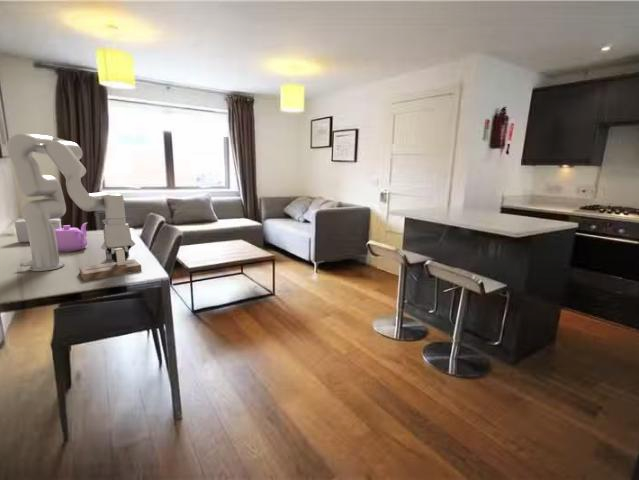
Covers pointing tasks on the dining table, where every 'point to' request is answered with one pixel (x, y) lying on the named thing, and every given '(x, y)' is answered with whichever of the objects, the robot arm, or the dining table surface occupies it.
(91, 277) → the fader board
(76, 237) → the teapot
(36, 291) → the dining table surface
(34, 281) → the dining table surface
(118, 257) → the white rectangular block
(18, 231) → the stereo radio cassette player
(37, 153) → the robot arm
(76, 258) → the dining table surface
